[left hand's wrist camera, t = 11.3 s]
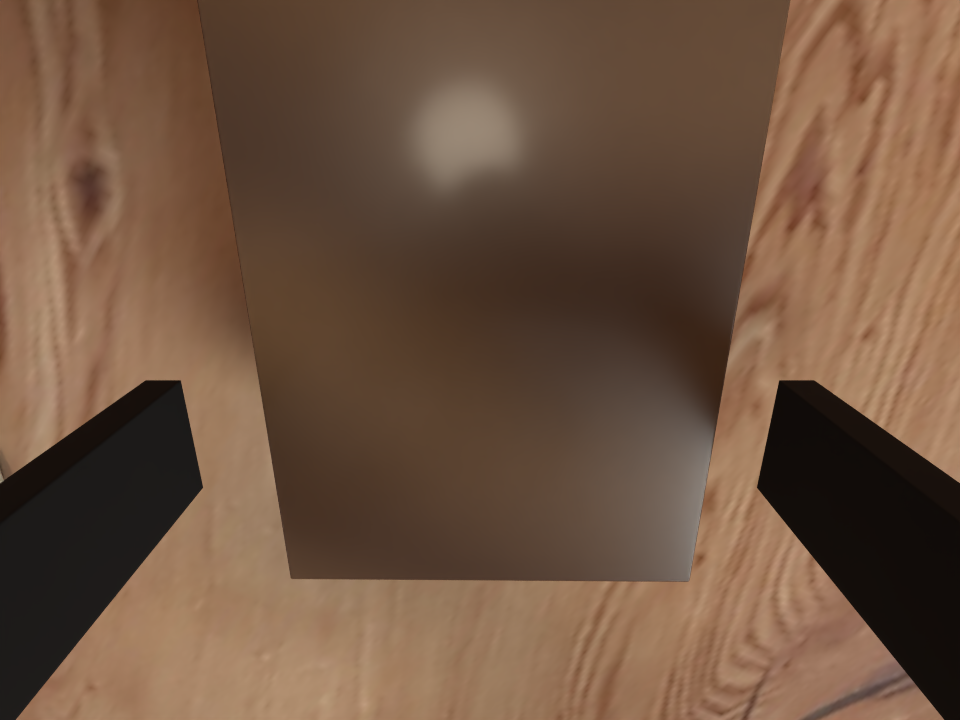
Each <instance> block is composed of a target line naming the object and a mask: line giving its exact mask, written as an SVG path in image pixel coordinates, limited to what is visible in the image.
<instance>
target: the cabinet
mask: <svg viewBox="0 0 960 720" xmlns="http://www.w3.org/2000/svg"><path fill="white" fill-rule="evenodd" d="M197 1H198V7H199V13H200V20H201V26H202V32H203V38H204V44H205V50H206V57H207V63H208V69H209V75H210V81H211V88H212V94H213V100H214V106H215V112H216V118H217V125H218V131H219V137H220V143H221V149H222V155H223V162H224V168H225V174H226V180H227V186H228V193H229V199H230V205H231V211H232V217H233V223H234V230H235V236H236V242H237V248H238V254H239V260H240V267H241V273H242V279H243V285H244V291H245V298H246V304H247V310H248V316H249V322H250V328H251V335H252V341H253V347H254V353H255V359H256V365H257V372H258V378H259V384H260V390H261V396H262V403H263V409H264V415H265V421H266V427H267V433H268V440H269V446H270V452H271V458H272V464H273V470H274V477H275V483H276V489H277V495H278V501H279V508H280V514H281V520H282V526H283V532H284V538H285V545H286V551H287V557H288V563H289V569H290V575H291V578H292V579H384V580H521V581H659V582H688V581H689V580H690V574H691V568H692V562H693V557H694V551H695V545H696V539H697V534H698V528H699V522H700V516H701V511H702V505H703V499H704V493H705V488H706V482H707V476H708V470H709V465H710V459H711V453H712V447H713V442H714V436H715V430H716V424H717V419H718V413H719V407H720V401H721V396H722V390H723V384H724V378H725V373H726V367H727V361H728V355H729V350H730V344H731V338H732V332H733V327H734V321H735V315H736V309H737V304H738V298H739V292H740V286H741V281H742V275H743V269H744V263H745V258H746V252H747V246H748V240H749V235H750V229H751V223H752V217H753V212H754V206H755V200H756V194H757V189H758V183H759V177H760V171H761V166H762V160H763V154H764V148H765V143H766V137H767V131H768V125H769V120H770V114H771V108H772V102H773V97H774V91H775V85H776V79H777V74H778V68H779V62H780V56H781V51H782V45H783V39H784V33H785V28H786V22H787V16H788V10H789V5H790V0H197Z"/></svg>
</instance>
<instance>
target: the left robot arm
mask: <svg viewBox="0 0 960 720" xmlns="http://www.w3.org/2000/svg"><path fill="white" fill-rule="evenodd" d="M202 488H203V485H202V480H201V476H200V471H199V466H198V461H197V457H196V452H195V447H194V442H193V437H192V433H191V428H190V423H189V418H188V413H187V409H186V404H185V399H184V394H183V389H182V385H181V380H146V381H144V382H143V383H141V384H140V385H139V386H137V387H136V388H134V389H133V390H132V391H130V392H129V393H127V394H126V395H124V396H123V397H122V398H120V399H119V400H117V401H116V402H115V403H113V404H112V405H110V406H109V407H107V408H106V409H105V410H103V411H102V412H100V413H99V414H98V415H96V416H95V417H93V418H92V419H90V420H89V421H88V422H86V423H85V424H83V425H82V426H81V427H79V428H78V429H76V430H75V431H73V432H72V433H71V434H69V435H68V436H66V437H65V438H64V439H62V440H61V441H59V442H58V443H57V444H55V445H54V446H52V447H51V448H49V449H48V450H47V451H45V452H44V453H42V454H41V455H40V456H38V457H37V458H35V459H34V460H32V461H31V462H30V463H28V464H27V465H25V466H24V467H23V468H21V469H20V470H18V471H17V472H15V473H14V474H13V475H11V476H10V477H8V478H7V479H6V480H4V481H3V482H1V483H0V720H16V719H17V717H18V716H19V715H20V714H21V712H22V711H23V710H24V709H25V707H26V706H27V705H28V704H29V702H30V701H31V700H32V699H33V698H34V696H35V695H36V694H37V693H38V691H39V690H40V689H41V688H42V686H43V685H44V684H45V683H46V681H47V680H48V679H49V678H50V676H51V675H52V674H53V673H54V672H55V670H56V669H57V668H58V667H59V665H60V664H61V663H62V662H63V660H64V659H65V658H66V657H67V655H68V654H69V653H70V652H71V650H72V649H73V648H74V647H75V646H76V644H77V643H78V642H79V641H80V639H81V638H82V637H83V636H84V634H85V633H86V632H87V631H88V629H89V628H90V627H91V626H92V624H93V623H94V622H95V621H96V619H97V618H98V617H99V616H100V615H101V613H102V612H103V611H104V610H105V608H106V607H107V606H108V605H109V603H110V602H111V601H112V600H113V598H114V597H115V596H116V595H117V593H118V592H119V591H120V590H121V589H122V587H123V586H124V585H125V584H126V582H127V581H128V580H129V579H130V577H131V576H132V575H133V574H134V572H135V571H136V570H137V569H138V567H139V566H140V565H141V564H142V563H143V561H144V560H145V559H146V558H147V556H148V555H149V554H150V553H151V551H152V550H153V549H154V548H155V546H156V545H157V544H158V543H159V541H160V540H161V539H162V538H163V536H164V535H165V534H166V533H167V532H168V530H169V529H170V528H171V527H172V525H173V524H174V523H175V522H176V520H177V519H178V518H179V517H180V515H181V514H182V513H183V512H184V510H185V509H186V508H187V507H188V506H189V504H190V503H191V502H192V501H193V499H194V498H195V497H196V496H197V494H198V493H199V492H200V491H201V489H202ZM757 488H758V489H759V491H760V492H761V493H762V494H763V496H764V497H765V498H766V499H767V501H768V502H769V503H770V504H771V506H772V507H773V508H774V509H775V510H776V512H777V513H778V514H779V515H780V517H781V518H782V519H783V520H784V522H785V523H786V524H787V525H788V527H789V528H790V529H791V530H792V532H793V533H794V534H795V535H796V537H797V538H798V539H799V540H800V541H801V543H802V544H803V545H804V546H805V548H806V549H807V550H808V551H809V553H810V554H811V555H812V556H813V558H814V559H815V560H816V561H817V563H818V564H819V565H820V566H821V567H822V569H823V570H824V571H825V572H826V574H827V575H828V576H829V577H830V579H831V580H832V581H833V582H834V584H835V585H836V586H837V587H838V589H839V590H840V591H841V592H842V593H843V595H844V596H845V597H846V598H847V600H848V601H849V602H850V603H851V605H852V606H853V607H854V608H855V610H856V611H857V612H858V613H859V615H860V616H861V617H862V618H863V620H864V621H865V622H866V623H867V624H868V626H869V627H870V628H871V629H872V631H873V632H874V633H875V634H876V636H877V637H878V638H879V639H880V641H881V642H882V643H883V644H884V646H885V647H886V648H887V649H888V650H889V652H890V653H891V654H892V655H893V657H894V658H895V659H896V660H897V662H898V663H899V664H900V665H901V667H902V668H903V669H904V670H905V672H906V673H907V674H908V675H909V676H910V678H911V679H912V680H913V681H914V683H915V684H916V685H917V686H918V688H919V689H920V690H921V691H922V693H923V694H924V695H925V696H926V698H927V699H928V700H929V701H930V703H931V704H932V705H933V706H934V707H935V709H936V710H937V711H938V712H939V714H940V715H941V716H942V717H943V719H944V720H960V483H959V482H957V481H956V480H954V479H953V478H952V477H950V476H949V475H947V474H946V473H945V472H943V471H942V470H940V469H939V468H937V467H936V466H935V465H933V464H932V463H930V462H929V461H928V460H926V459H925V458H923V457H922V456H920V455H919V454H918V453H916V452H915V451H913V450H912V449H911V448H909V447H908V446H906V445H905V444H903V443H902V442H901V441H899V440H898V439H896V438H895V437H894V436H892V435H891V434H889V433H888V432H887V431H885V430H884V429H882V428H881V427H879V426H878V425H877V424H875V423H874V422H872V421H871V420H870V419H868V418H867V417H865V416H864V415H862V414H861V413H860V412H858V411H857V410H855V409H854V408H853V407H851V406H850V405H848V404H847V403H845V402H844V401H843V400H841V399H840V398H838V397H837V396H836V395H834V394H833V393H831V392H830V391H828V390H827V389H826V388H824V387H823V386H821V385H820V384H819V383H817V382H816V381H814V380H779V385H778V389H777V394H776V399H775V404H774V409H773V413H772V418H771V423H770V428H769V433H768V437H767V442H766V447H765V452H764V456H763V461H762V466H761V471H760V476H759V480H758V485H757Z"/></svg>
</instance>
